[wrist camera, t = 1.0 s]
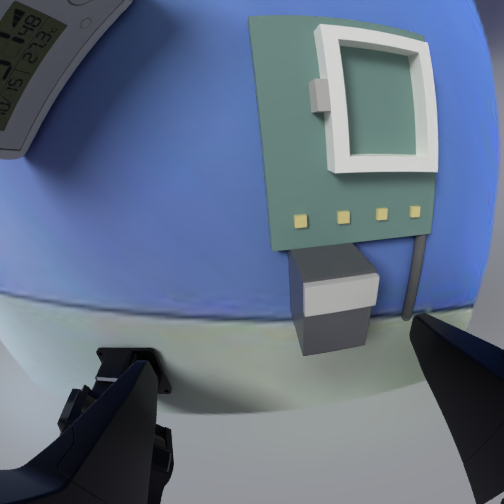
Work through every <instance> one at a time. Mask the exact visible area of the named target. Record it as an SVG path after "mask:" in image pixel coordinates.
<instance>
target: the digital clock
mask: <svg viewBox="0 0 504 504" xmlns="http://www.w3.org/2000/svg"><path fill="white" fill-rule="evenodd" d="M132 1H133V0H0V159H18V158H21V157H23V156H24V155H25V154H26V152H27V150H28V149H29V147H30V145H31V143H32V141H33V139H34V137H35V135H36V133H37V131H38V129H39V127H40V126H41V124H42V122H43V120H44V118H45V116H46V115H47V113H48V111H49V109H50V108H51V106H52V104H53V103H54V101H55V99H56V98H57V96H58V95H59V93H60V91H61V90H62V88H63V87H64V85H65V84H66V82H67V81H68V79H69V78H70V76H71V75H72V74H73V72H74V71H75V69H76V68H77V67H78V65H79V64H80V62H81V61H82V60H83V58H84V57H85V56H86V55H87V53H88V52H89V51H90V49H91V48H92V47H93V46H94V45H95V43H96V42H97V41H98V40H99V39H100V37H101V36H102V35H103V34H104V33H105V32H106V30H107V29H108V28H109V27H110V26H111V25H112V24H113V23H114V22H115V20H116V19H117V18H118V17H119V16H120V15H121V14H122V13H123V12H124V11H125V10H126V9H127V8H128V6H129V5H130V4H131V3H132Z"/></svg>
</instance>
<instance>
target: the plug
mask: <svg viewBox="0 0 504 504" xmlns="http://www.w3.org/2000/svg"><path fill="white" fill-rule="evenodd" d="M288 262H289V284H290V310H291V314H292V318H293V321H294V325H295V328H296V332H297V336H298V339H299V343H300V347H301V351H302V354H303V356H308V355H314V354H320V353H326V352H331V351H337V350H342V349H347V348H352V347H357V346H362V345H365V342H366V337H367V331H368V326H369V320H370V314H371V307H372V306H374V305H376V299H377V292H378V285H379V276H378V274H377V273H376V269H375V268H374V266H373V265H372V264H371V263H370V262H369V261H368V260H367V259H366V258H365V256H364V255H363V254H362V253H361V252H360V251H359V250H358V249H357V248H356V247H355V246H354V244H353V243H344V244H335V245H326V246H317V247H308V248H300V249H291V250H288Z"/></svg>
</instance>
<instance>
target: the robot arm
mask: <svg viewBox="0 0 504 504" xmlns="http://www.w3.org/2000/svg"><path fill="white" fill-rule="evenodd" d="M410 341H411V343H412V346H413V348H414V351H415V353H416V356H417V358H418V361H419V363H420V366H421V369H422V371H423V374H424V376H425V378H426V380H427V382H428V384H429V386H430V388H431V390H432V392H433V394H434V396H435V398H436V401H437V403H438V405H439V407H440V409H441V411H442V414H443V416H444V418H445V420H446V422H447V425H448V427H449V429H450V432H451V434H452V436H453V439H454V441H455V444H456V446H457V449H458V451H459V454H460V456H461V459H462V462H463V464H464V468H465V470H466V473H467V476H468V479H469V482H470V485H471V488H472V491H473V494H474V498H475V501H476V504H484V503H486V502H488V501H489V500H491V499H493V498H494V497H496V496H497V495H499V494H501V493H502V492H504V350H503V349H501V348H499V347H497V346H495V345H493V344H491V343H489V342H486V341H484V340H482V339H480V338H478V337H476V336H473V335H471V334H469V333H467V332H465V331H463V330H461V329H459V328H456V327H454V326H452V325H450V324H448V323H446V322H443V321H441V320H439V319H437V318H435V317H432V316H430V315H428V314H426V313H422V314H418V315H415V316H414V318H413V321H412V325H411V330H410ZM96 353H97V355H98V357H99V359H100V361H101V362H102V364H101V366H100V368H99V371H98V373H97V375H96V377H95V379H96V382H95V384H94V387H93V389H92V390H91V389H90V388H89V387H88V386H86V385H84V386H83V388H82V390H80V389H72V391H71V393H70V396H69V398H68V400H67V402H66V405H65V406H64V409H63V411H62V414H61V416H60V418H59V421H58V423H57V424H58V427H59V429H60V432H61V433H60V436H59V437H58V438H57V439H56V440H55V441H54V442H53V443H51V444H50V445H49V446H48V447H47V448H46V449H44V450H43V451H42V452H40V453H39V454H38V455H37V456H36V457H34V458H33V459H32V460H30V461H29V462H28V463H27V464H25V465H24V466H22V467H20V468H17V469H11V470H0V504H160V502H161V497H162V492H163V489H164V486H165V485H166V484H167V483H168V481H169V479H170V477H171V475H172V471H173V466H174V459H173V448H172V436H171V429H169V428H167V427H165V428H164V427H162V426H160V425H158V424H156V415H157V394H170V393H171V391H172V388H171V386H170V384H169V382H168V380H167V377H166V375H165V373H164V371H163V369H162V366H161V364H160V362H159V359H158V357H157V355H156V352H155V351H154V350H153V349H151V348H98V349H97V351H96ZM150 353H151V354H150ZM501 504H504V498H503V499H502V501H501Z"/></svg>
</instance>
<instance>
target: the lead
mask: <svg viewBox="0 0 504 504" xmlns="http://www.w3.org/2000/svg"><path fill="white" fill-rule="evenodd" d="M426 237H427V234H423V235H415V243H414V250H413V257H412V264H411V270H410V276H409V282H408V287H407V292H406V297H405V302H404V307H403V311H402V319H403V320H404V321H408V320H410V318H411V316H412V312H413V307H414V303H415V299H416V294H417V290H418V285H419V280H420V275H421V269H422V263H423V257H424V251H425V244H426Z"/></svg>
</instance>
